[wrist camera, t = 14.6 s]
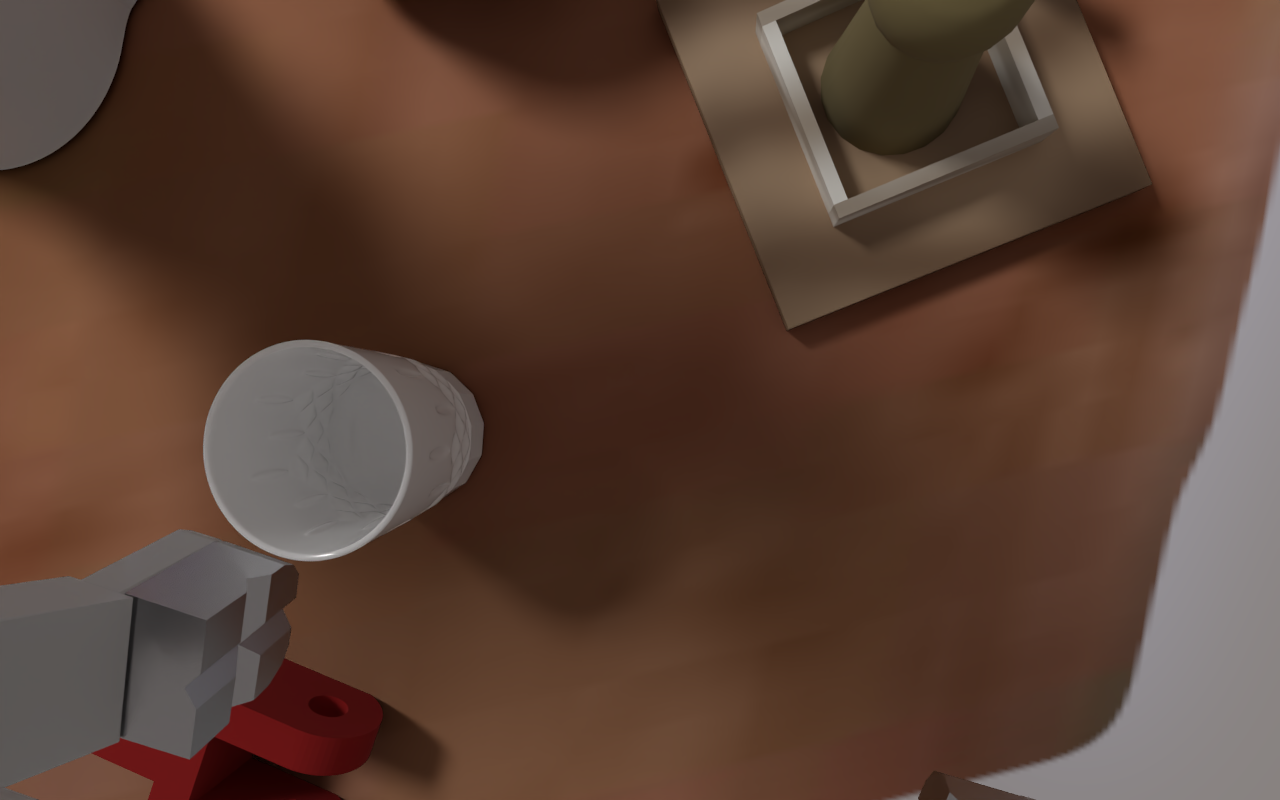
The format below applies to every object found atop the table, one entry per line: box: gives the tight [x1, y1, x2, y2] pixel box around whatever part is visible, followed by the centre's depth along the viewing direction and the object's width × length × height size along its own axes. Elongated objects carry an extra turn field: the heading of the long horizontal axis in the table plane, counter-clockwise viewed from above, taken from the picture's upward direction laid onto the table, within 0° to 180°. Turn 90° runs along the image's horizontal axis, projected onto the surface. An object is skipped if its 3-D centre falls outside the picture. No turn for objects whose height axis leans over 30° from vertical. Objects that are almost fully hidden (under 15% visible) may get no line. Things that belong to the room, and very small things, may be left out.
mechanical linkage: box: [92, 658, 383, 800], centre depth 37 cm, size 16×7×5 cm, turn 70°
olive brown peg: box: [821, 0, 1035, 155], centre depth 28 cm, size 6×6×11 cm
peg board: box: [656, 0, 1152, 331], centre depth 32 cm, size 16×16×5 cm
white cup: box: [203, 340, 484, 561], centre depth 33 cm, size 8×8×10 cm
